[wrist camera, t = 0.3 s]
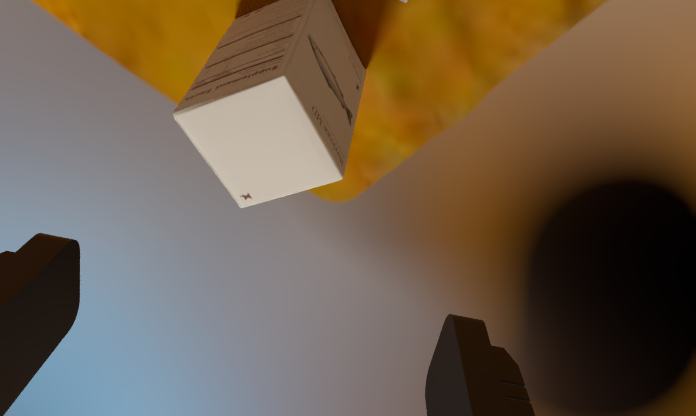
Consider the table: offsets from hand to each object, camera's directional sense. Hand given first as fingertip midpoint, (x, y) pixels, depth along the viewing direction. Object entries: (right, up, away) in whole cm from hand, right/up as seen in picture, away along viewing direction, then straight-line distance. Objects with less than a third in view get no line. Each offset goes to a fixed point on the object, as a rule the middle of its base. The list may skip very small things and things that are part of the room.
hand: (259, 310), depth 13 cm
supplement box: (-1, +14, +29) cm, 32 cm away
